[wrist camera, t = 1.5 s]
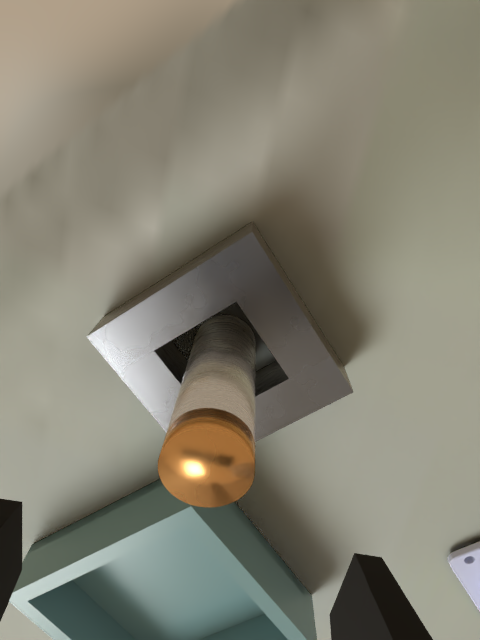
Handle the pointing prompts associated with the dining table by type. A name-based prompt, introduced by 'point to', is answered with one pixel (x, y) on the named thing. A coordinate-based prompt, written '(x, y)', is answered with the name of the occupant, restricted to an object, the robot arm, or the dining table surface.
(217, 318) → the pin
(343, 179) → the dining table surface
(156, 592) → the tray
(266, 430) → the pin bracket
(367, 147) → the dining table surface
